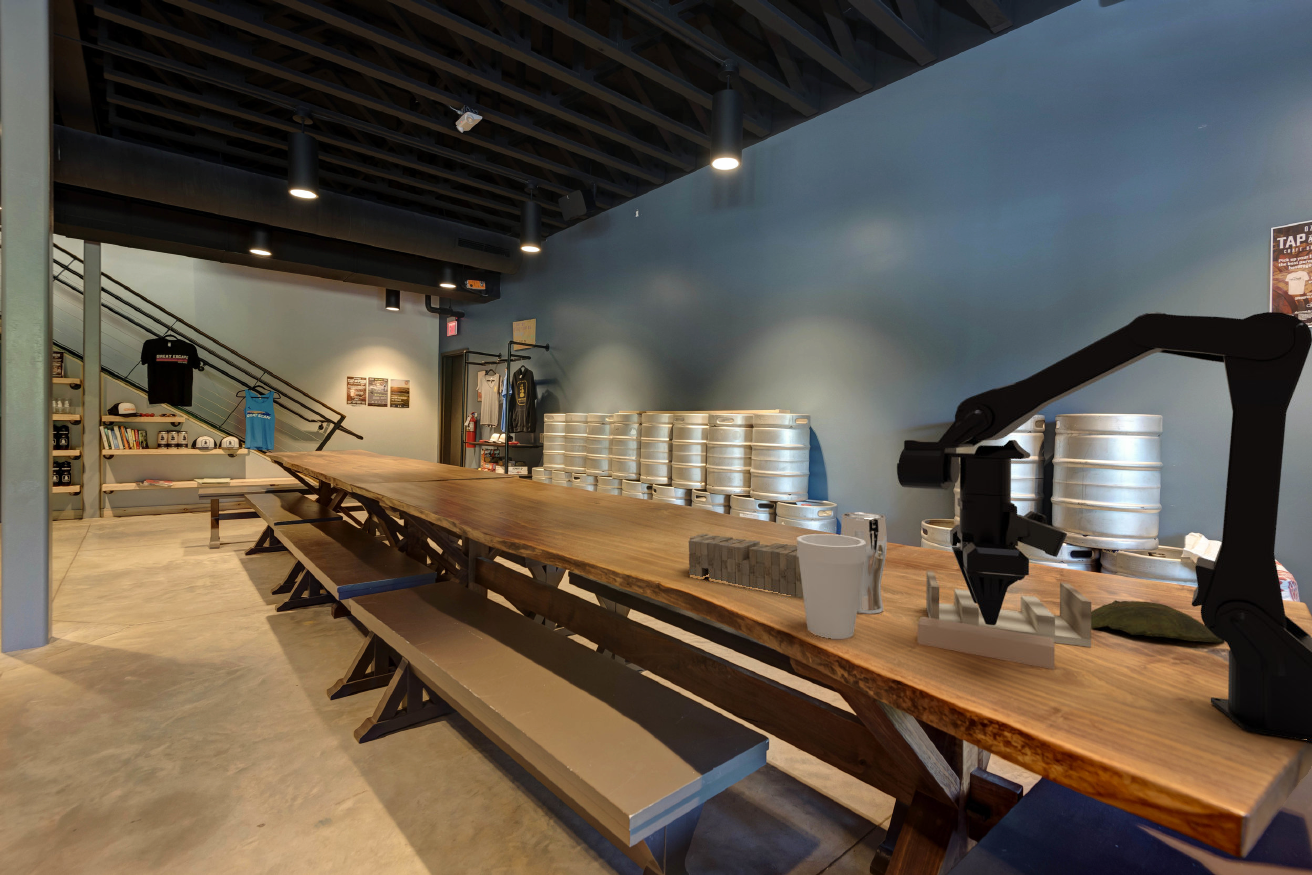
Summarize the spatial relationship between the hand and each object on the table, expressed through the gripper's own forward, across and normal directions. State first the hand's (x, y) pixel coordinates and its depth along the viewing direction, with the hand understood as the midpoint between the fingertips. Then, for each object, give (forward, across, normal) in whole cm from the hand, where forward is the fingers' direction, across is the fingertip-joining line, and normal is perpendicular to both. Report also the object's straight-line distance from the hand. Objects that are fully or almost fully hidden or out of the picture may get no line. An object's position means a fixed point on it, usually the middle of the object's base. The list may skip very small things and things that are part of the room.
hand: (984, 613), depth 72 cm
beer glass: (+5, +13, +15) cm, 21 cm away
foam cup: (+5, 0, +19) cm, 20 cm away
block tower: (+5, +21, +34) cm, 40 cm away
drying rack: (+5, +12, -4) cm, 14 cm away
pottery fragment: (+6, +19, -23) cm, 30 cm away
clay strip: (+5, 0, 0) cm, 5 cm away
